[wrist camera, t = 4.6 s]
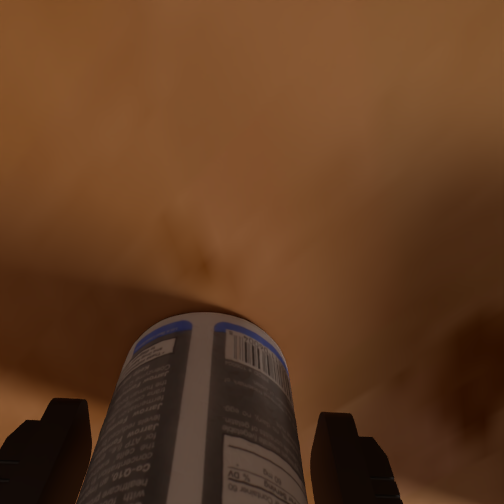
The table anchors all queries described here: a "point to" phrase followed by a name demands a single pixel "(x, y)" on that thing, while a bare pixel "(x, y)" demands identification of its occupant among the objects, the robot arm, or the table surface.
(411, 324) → the table surface
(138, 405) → the pill bottle
